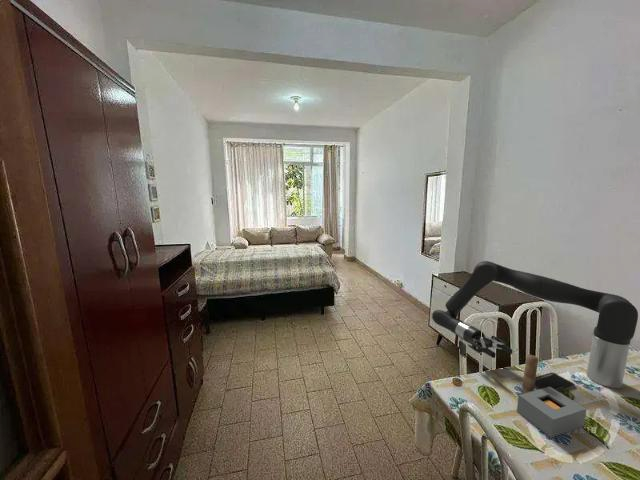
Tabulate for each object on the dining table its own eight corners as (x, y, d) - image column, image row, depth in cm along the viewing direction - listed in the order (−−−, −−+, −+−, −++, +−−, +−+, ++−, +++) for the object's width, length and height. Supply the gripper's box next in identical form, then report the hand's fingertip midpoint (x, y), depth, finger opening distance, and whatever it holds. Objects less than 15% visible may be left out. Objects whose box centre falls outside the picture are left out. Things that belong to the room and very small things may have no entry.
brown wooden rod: (526, 389, 95) (530, 353, 93) (535, 395, 92) (540, 359, 90) (519, 390, 95) (524, 355, 92) (528, 397, 92) (533, 360, 89)
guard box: (547, 402, 89) (549, 386, 88) (583, 426, 80) (586, 408, 79) (516, 411, 85) (518, 395, 84) (550, 437, 76) (553, 419, 75)
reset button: (547, 410, 85) (548, 399, 84) (559, 419, 81) (561, 408, 81) (538, 413, 84) (540, 402, 83) (551, 422, 80) (553, 410, 80)
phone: (525, 380, 99) (552, 372, 104) (525, 382, 99) (552, 374, 104) (549, 394, 92) (577, 385, 96) (549, 397, 92) (576, 387, 97)
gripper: (457, 328, 115) (490, 347, 99) (482, 323, 119) (518, 342, 103) (455, 343, 116) (488, 365, 100) (480, 339, 120) (516, 359, 104)
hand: (503, 353), depth 102 cm, fingers open, 8 cm apart
